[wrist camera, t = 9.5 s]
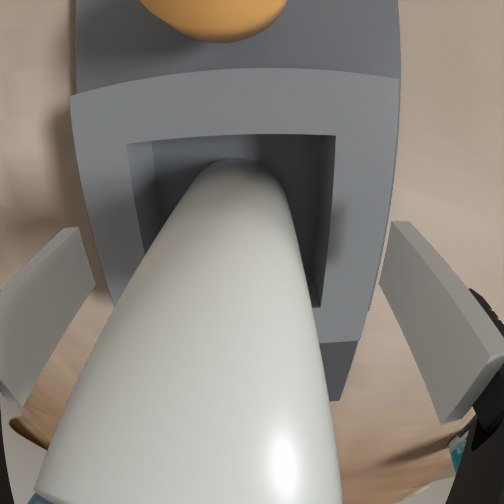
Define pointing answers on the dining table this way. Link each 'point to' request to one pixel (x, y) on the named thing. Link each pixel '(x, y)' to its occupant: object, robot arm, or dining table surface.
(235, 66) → the housing
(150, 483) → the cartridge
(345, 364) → the mat
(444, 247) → the dining table surface
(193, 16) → the orange rounded knob
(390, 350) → the dining table surface
